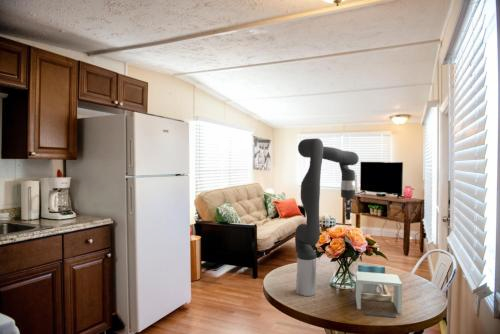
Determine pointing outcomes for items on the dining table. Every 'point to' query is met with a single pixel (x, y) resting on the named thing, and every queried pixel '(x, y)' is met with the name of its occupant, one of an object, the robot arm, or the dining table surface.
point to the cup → (371, 288)
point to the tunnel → (380, 280)
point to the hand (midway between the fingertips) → (347, 218)
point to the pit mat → (380, 314)
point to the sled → (381, 296)
